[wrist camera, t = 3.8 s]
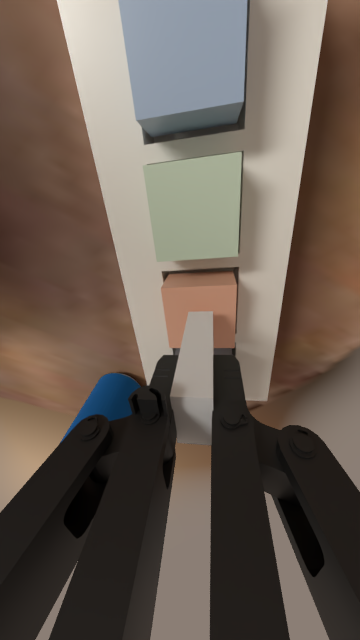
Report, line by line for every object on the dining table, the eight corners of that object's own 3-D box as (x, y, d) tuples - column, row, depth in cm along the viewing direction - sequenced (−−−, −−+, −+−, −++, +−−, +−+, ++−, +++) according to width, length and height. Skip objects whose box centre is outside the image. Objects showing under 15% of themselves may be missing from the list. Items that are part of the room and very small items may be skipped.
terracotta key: (175, 327, 19) (169, 348, 16) (168, 274, 16) (160, 288, 14) (231, 326, 18) (234, 348, 15) (232, 270, 16) (236, 284, 13)
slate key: (151, 137, 12) (136, 120, 10) (135, 6, 10) (109, -61, 7) (236, 123, 12) (243, 101, 9) (240, -21, 9) (251, -107, 7)
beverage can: (92, 383, 31) (31, 478, 20) (116, 361, 28) (60, 457, 17) (127, 407, 32) (87, 506, 22) (153, 388, 29) (122, 491, 19)
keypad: (159, 365, 27) (149, 396, 23) (98, 30, 14) (45, -49, 9) (257, 366, 25) (267, 401, 21) (299, -21, 12) (350, -150, 7)
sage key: (165, 251, 15) (156, 262, 13) (156, 172, 13) (142, 165, 11) (233, 246, 15) (238, 256, 12) (235, 161, 12) (241, 151, 10)
